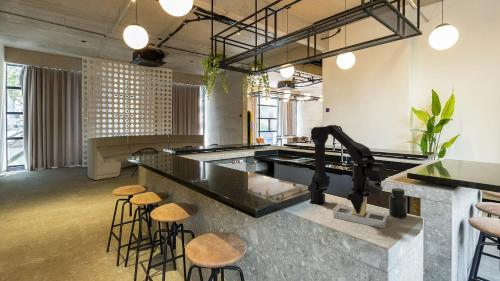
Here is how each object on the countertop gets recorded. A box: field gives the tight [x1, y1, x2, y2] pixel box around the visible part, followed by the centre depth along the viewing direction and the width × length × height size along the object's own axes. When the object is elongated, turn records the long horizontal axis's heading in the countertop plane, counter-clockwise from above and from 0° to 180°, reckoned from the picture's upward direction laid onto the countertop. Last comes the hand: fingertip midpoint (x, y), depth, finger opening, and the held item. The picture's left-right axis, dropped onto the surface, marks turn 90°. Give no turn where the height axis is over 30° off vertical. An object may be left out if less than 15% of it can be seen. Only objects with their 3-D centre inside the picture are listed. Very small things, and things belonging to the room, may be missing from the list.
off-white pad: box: [332, 203, 353, 211], centre depth 118 cm, size 10×9×1 cm
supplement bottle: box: [388, 187, 408, 220], centre depth 108 cm, size 7×7×12 cm
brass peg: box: [353, 196, 368, 217], centre depth 105 cm, size 4×4×10 cm
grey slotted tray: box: [332, 207, 388, 229], centre depth 105 cm, size 20×8×2 cm, turn 54°
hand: (359, 211), depth 105 cm, fingers open, 5 cm apart
